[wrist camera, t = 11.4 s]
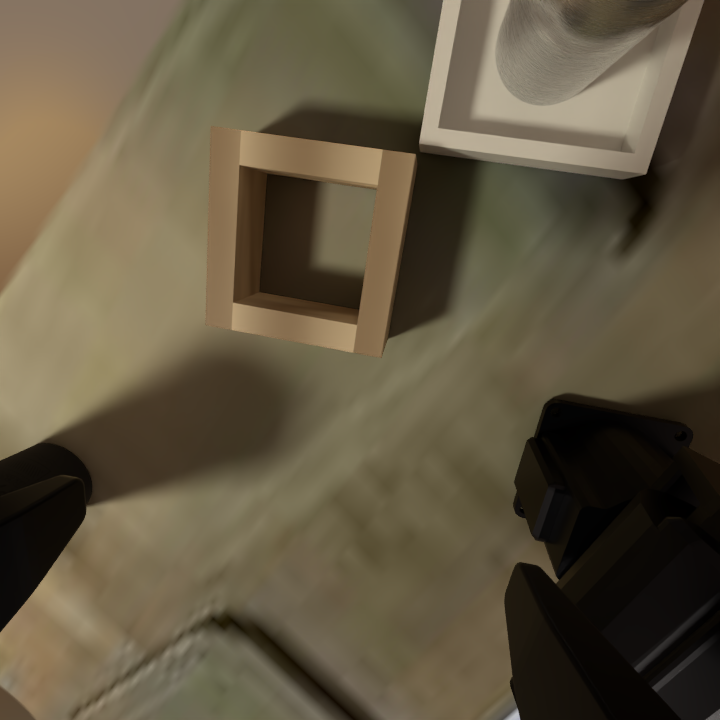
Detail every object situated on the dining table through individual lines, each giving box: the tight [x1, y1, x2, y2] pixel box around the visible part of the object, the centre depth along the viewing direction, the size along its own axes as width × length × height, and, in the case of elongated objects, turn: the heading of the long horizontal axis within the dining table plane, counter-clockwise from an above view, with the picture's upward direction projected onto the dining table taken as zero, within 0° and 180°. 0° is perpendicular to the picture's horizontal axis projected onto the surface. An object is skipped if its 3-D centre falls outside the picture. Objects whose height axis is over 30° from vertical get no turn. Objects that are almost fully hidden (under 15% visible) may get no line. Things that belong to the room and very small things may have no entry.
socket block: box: [206, 126, 418, 358], centre depth 18 cm, size 8×8×3 cm
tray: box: [419, 0, 704, 180], centre depth 15 cm, size 8×8×2 cm
